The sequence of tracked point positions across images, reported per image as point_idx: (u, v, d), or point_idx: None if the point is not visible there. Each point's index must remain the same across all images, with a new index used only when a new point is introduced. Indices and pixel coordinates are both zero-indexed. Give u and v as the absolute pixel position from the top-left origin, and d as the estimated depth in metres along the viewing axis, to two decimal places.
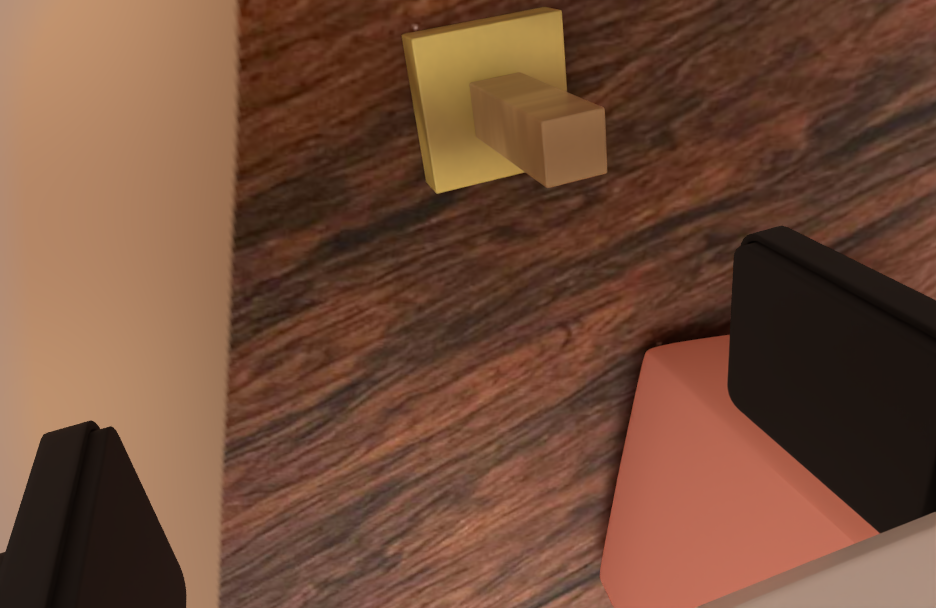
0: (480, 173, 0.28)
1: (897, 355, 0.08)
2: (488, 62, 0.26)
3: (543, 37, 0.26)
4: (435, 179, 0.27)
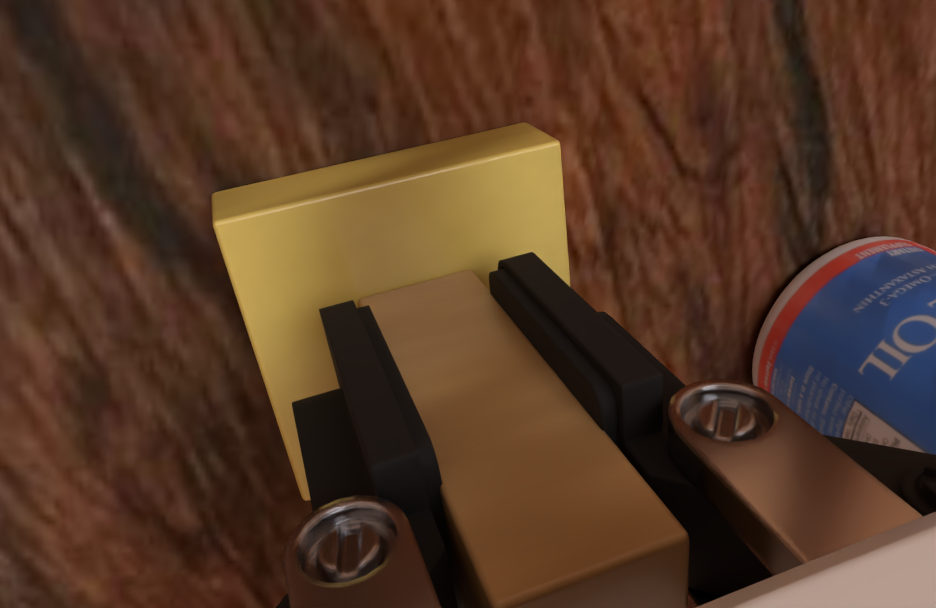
0: (271, 321, 0.12)
1: (574, 383, 0.09)
2: None
3: None
4: (251, 216, 0.11)
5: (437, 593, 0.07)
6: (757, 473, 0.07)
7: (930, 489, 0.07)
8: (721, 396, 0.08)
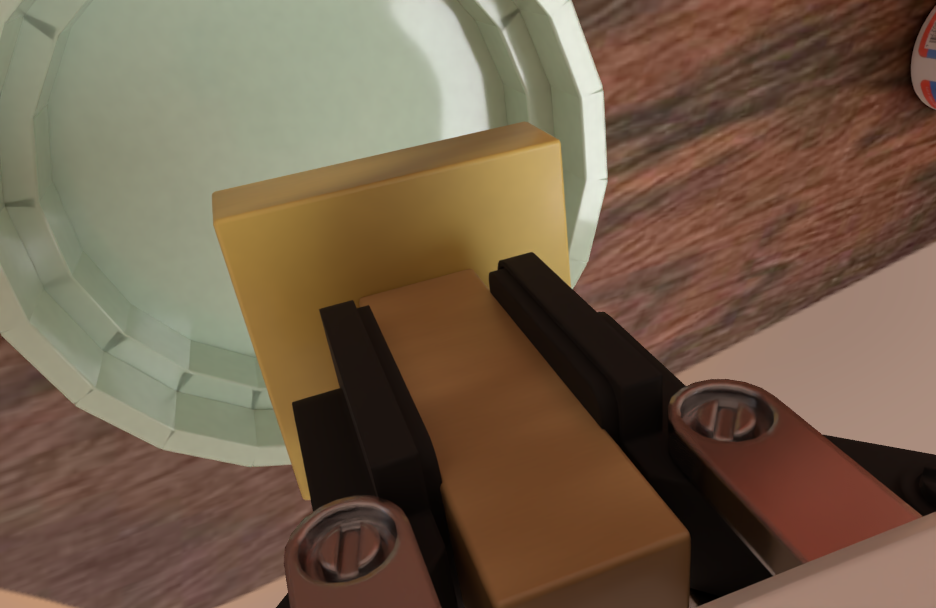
0: (271, 320, 0.12)
1: (573, 383, 0.09)
2: None
3: None
4: (252, 216, 0.11)
5: (437, 593, 0.07)
6: (757, 473, 0.07)
7: (930, 489, 0.07)
8: (721, 396, 0.08)
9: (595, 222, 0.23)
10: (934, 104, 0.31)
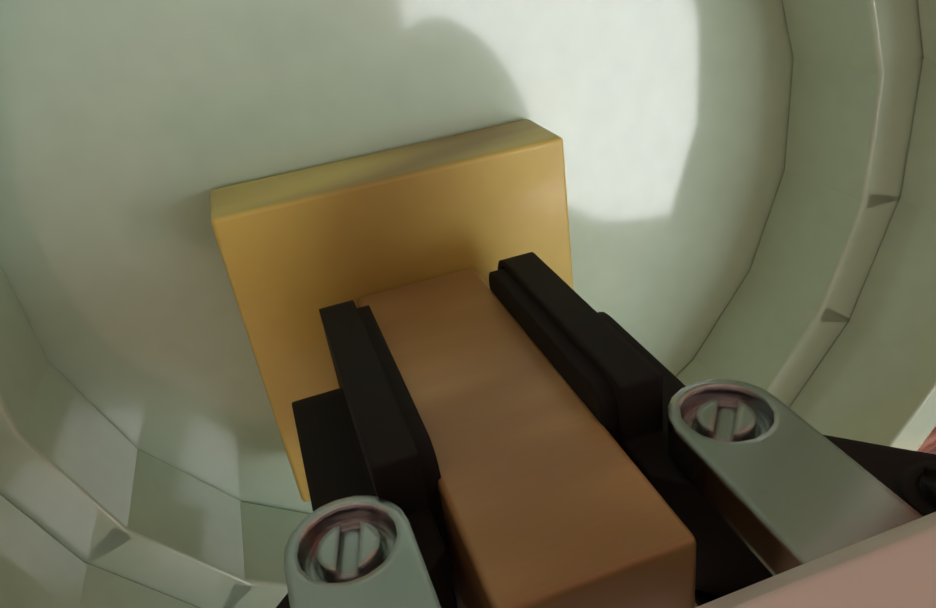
0: (270, 320, 0.11)
1: (574, 383, 0.09)
2: None
3: None
4: (250, 214, 0.11)
5: (437, 593, 0.07)
6: (757, 473, 0.07)
7: (929, 488, 0.07)
8: (720, 396, 0.08)
9: None
10: None
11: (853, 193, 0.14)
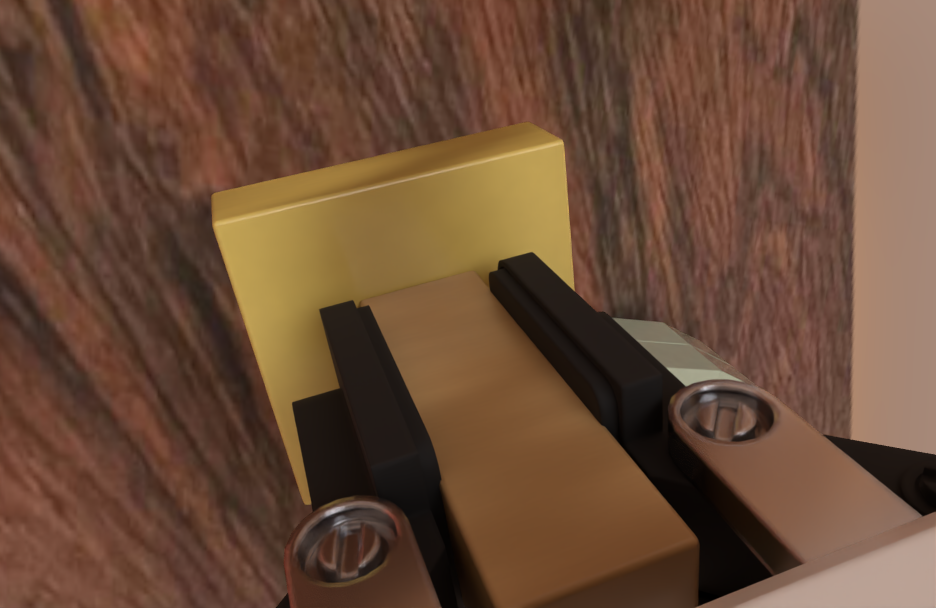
0: (271, 323, 0.11)
1: (574, 383, 0.09)
2: None
3: None
4: (251, 217, 0.11)
5: (437, 593, 0.07)
6: (757, 473, 0.07)
7: (929, 488, 0.07)
8: (721, 397, 0.08)
9: (692, 371, 0.28)
10: None
11: None
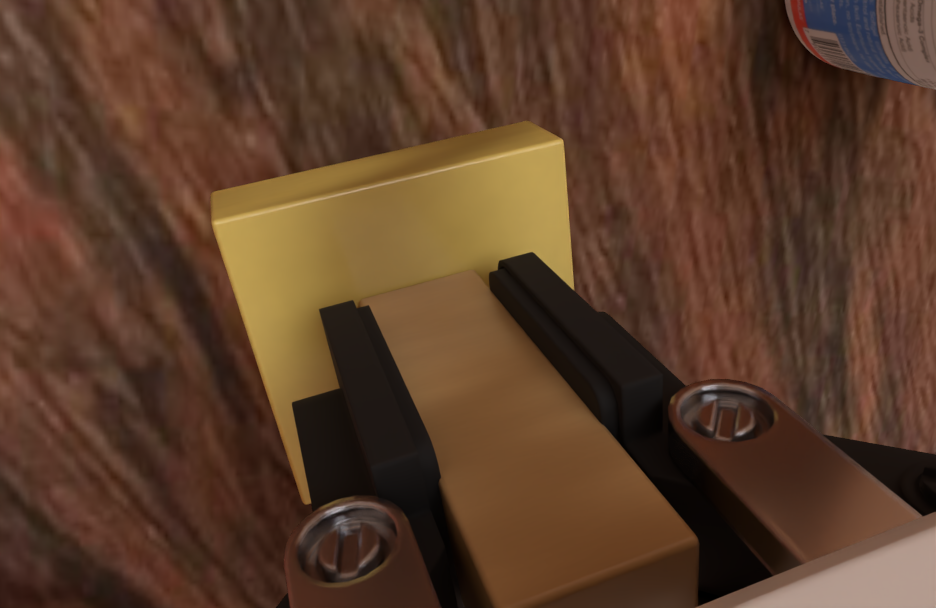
0: (271, 322, 0.11)
1: (574, 383, 0.09)
2: None
3: None
4: (250, 216, 0.11)
5: (437, 593, 0.07)
6: (757, 473, 0.07)
7: (930, 489, 0.07)
8: (721, 396, 0.08)
9: None
10: None
11: None
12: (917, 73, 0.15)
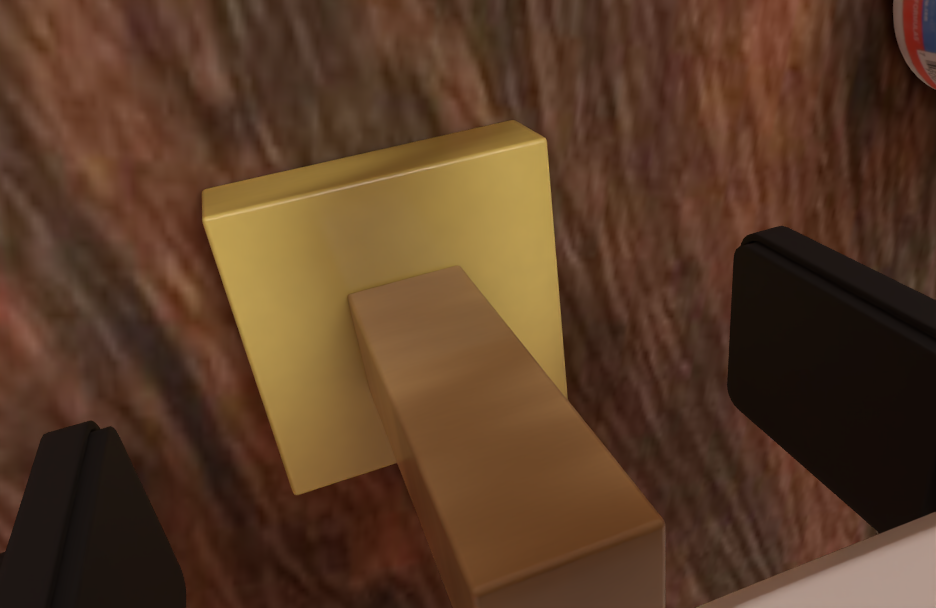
0: (260, 316, 0.12)
1: (897, 355, 0.08)
2: (493, 296, 0.13)
3: None
4: (240, 213, 0.11)
5: None
6: None
7: None
8: None
9: None
10: None
11: None
12: None
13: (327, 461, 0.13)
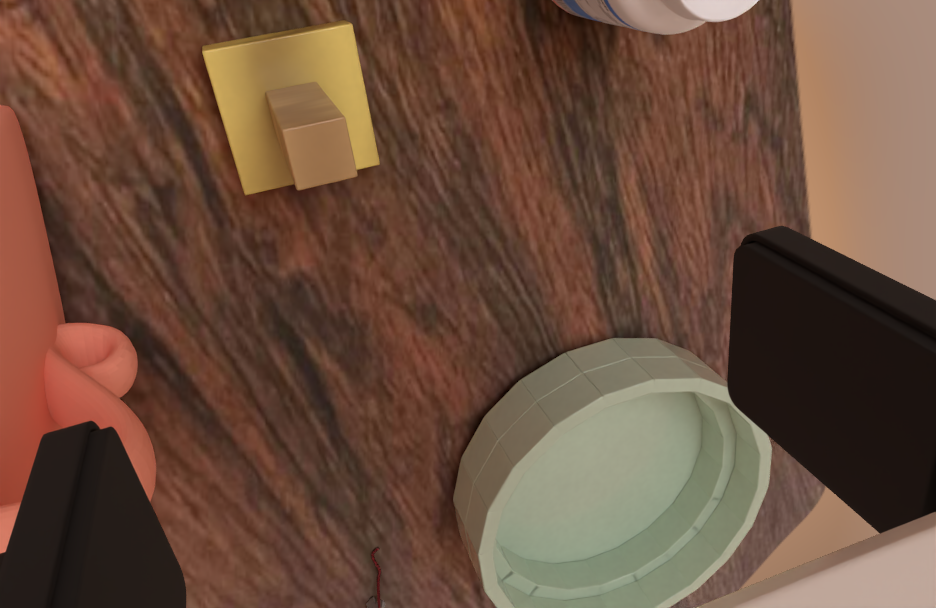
0: (227, 99, 0.27)
1: (897, 355, 0.08)
2: (334, 99, 0.29)
3: (357, 150, 0.30)
4: (217, 49, 0.27)
5: None
6: None
7: None
8: None
9: (678, 380, 0.36)
10: None
11: None
12: (591, 13, 0.28)
13: (259, 178, 0.29)
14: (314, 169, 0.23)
